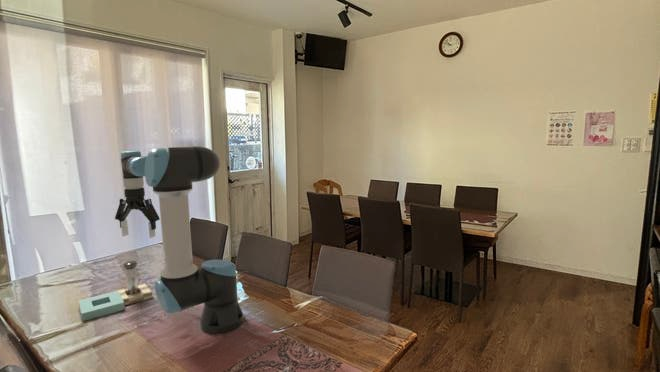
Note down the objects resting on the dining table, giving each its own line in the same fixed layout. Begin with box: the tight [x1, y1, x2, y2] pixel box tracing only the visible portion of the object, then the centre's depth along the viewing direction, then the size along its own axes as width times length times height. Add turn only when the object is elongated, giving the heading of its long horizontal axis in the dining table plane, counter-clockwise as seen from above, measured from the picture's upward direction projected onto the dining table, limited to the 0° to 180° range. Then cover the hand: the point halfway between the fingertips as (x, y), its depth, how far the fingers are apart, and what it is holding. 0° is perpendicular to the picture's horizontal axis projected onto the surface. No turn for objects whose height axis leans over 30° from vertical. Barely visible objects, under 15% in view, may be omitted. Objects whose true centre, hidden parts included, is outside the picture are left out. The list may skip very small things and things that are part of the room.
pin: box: [123, 260, 139, 295], centre depth 153 cm, size 5×5×15 cm
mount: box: [116, 283, 153, 306], centre depth 154 cm, size 12×12×2 cm
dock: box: [78, 290, 126, 322], centre depth 144 cm, size 14×14×3 cm
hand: (138, 236), depth 155 cm, fingers open, 13 cm apart
